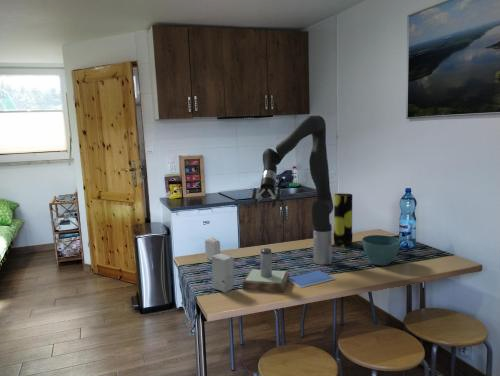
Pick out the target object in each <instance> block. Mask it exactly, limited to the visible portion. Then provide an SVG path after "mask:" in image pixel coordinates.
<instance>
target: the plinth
mask: <svg viewBox="0 0 500 376" xmlns="http://www.w3.org/2000/svg"><path fill="white" fill-rule="evenodd" d="M289 275H290V274H289V271H287V270H273V269H272V276H271V277H268V278H265V277H262V276H261V269H254V268H252V269H249V272H247V275H246V276H245V278H244V279H243V280H242V290H244V291H255V292H256V291H258V292H271V293H272V292H273V293H284V292H285V289H286V287H287V285H288V282H289V281H288V278H289Z"/></svg>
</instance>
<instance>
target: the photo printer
mask: <svg viewBox="0 0 500 376" xmlns="http://www.w3.org/2000/svg"><path fill="white" fill-rule="evenodd" d="M204 246H205V247H204V248H205V258H206V259H207V260H209V261H211V262H212V256H214V255H217V254H221V241H220V240H219V239H217V238H216V237H214V236H208V237H206V238H205V240H204Z"/></svg>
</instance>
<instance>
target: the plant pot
mask: <svg viewBox="0 0 500 376" xmlns="http://www.w3.org/2000/svg"><path fill="white" fill-rule="evenodd" d="M361 242H362V246H363V247H362V248H363V251H364V253H365V255H366V257H367V259H368V261H370V263H371V264H373V265H376V266H388V265H390V264H391V263H392V261H393V260H394V259H395V257H396V256H397V254H398V252H399V250H400V246H401V245H400V244H401V240H400V239H399V238H397V237H394V236H389V235H383V234H382V235H381V234H373V235H372V234H371V235H367V236H363V237H362V240H361Z"/></svg>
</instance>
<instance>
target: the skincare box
mask: <svg viewBox="0 0 500 376" xmlns="http://www.w3.org/2000/svg"><path fill="white" fill-rule="evenodd" d="M211 288H212V289H214V290H217V291H220V292H223V293H226V292H229V291H231V290H233V289H234V257H233V256H230V255H228V254H223V253H220V254H217V255H214V256H212V261H211Z"/></svg>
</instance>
